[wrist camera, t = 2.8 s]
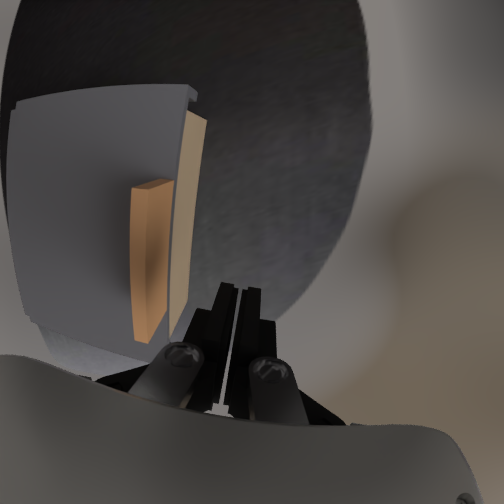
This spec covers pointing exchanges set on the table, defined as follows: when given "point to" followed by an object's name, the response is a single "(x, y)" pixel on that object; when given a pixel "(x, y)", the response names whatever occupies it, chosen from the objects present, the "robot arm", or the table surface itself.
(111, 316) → the lid
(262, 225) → the table surface
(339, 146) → the table surface
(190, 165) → the box
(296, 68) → the table surface
